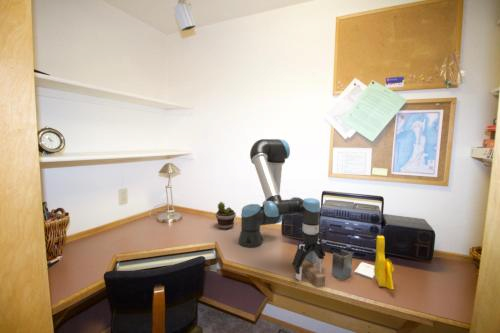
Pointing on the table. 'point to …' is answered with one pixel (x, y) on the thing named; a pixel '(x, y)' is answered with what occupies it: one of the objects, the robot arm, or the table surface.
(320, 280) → the rail
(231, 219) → the flowerpot
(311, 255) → the bracket left
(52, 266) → the table surface
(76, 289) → the table surface
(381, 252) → the figure statuette
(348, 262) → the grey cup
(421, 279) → the table surface
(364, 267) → the external hard drive
